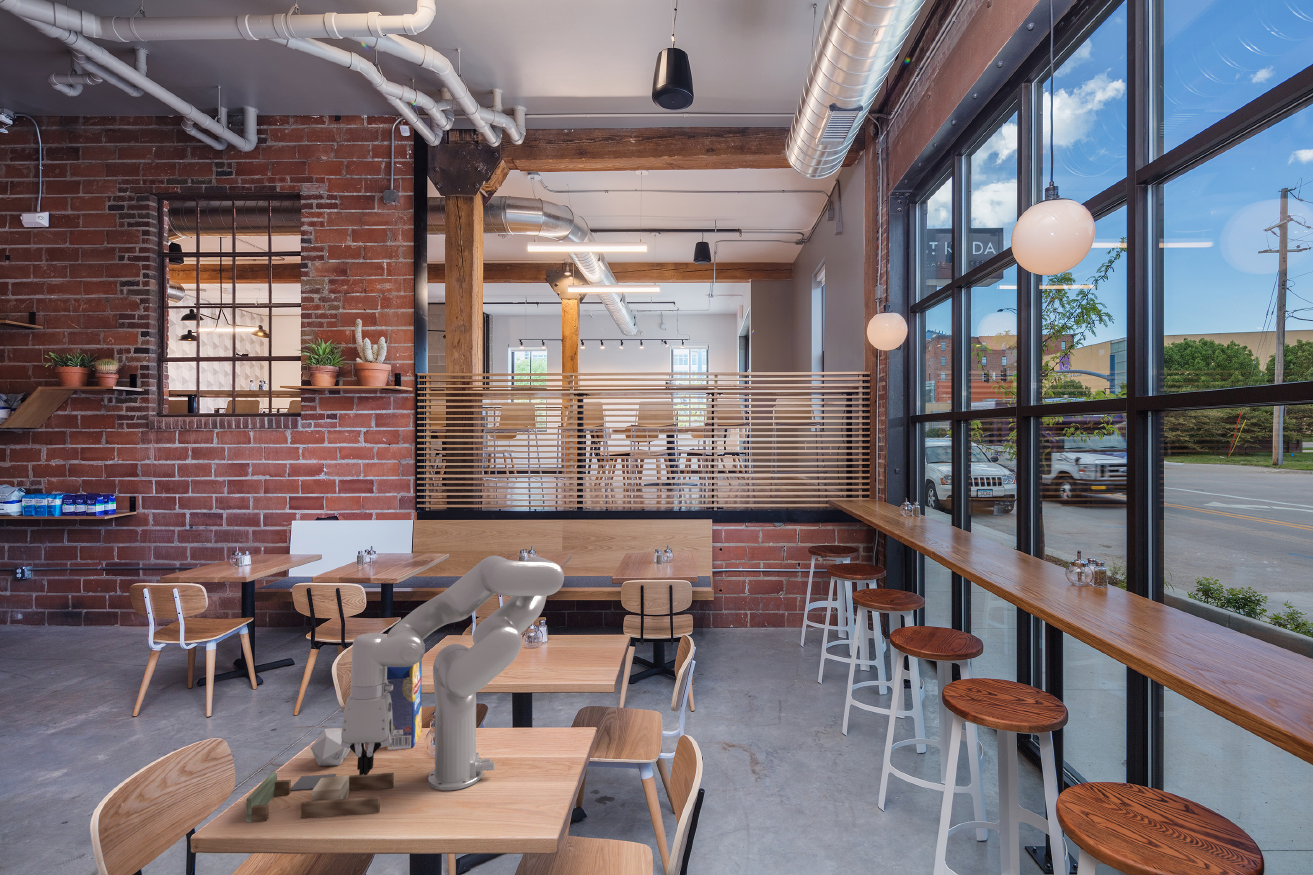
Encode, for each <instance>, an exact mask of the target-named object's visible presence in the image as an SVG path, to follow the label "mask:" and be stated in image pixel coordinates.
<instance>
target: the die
mask: <svg viewBox="0 0 1313 875" xmlns="http://www.w3.org/2000/svg"><path fill="white" fill-rule="evenodd" d="M341 732H342V728H324V729H323V731H322V732H321V733H320V734H319V736H317V738H316V740H315V741H314V742H313V744H312V745H311V746H310V750H311V752H312V754H313V757H314V758H315V762H316V763H317V765H318V766H319V767H322V766H323V767H324V766H327V767H328V766H340V765H342V762H343V761H344V760H345V758H346V757H347V756H348V755H349V753H350V751H352V750H351V749H350V748H345V747H341V742H342V739H341Z"/></svg>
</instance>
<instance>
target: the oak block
mask: <svg viewBox="0 0 1313 875" xmlns="http://www.w3.org/2000/svg"><path fill="white" fill-rule="evenodd" d="M337 776H338V777H327V778H321V779H320V780H319V782H318V783H317V785H316V786H315V787H314V789H313V790H311V801H323V800H337V799H348V797H349V795H350V791H349V776H350V775H337Z"/></svg>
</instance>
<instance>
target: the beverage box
mask: <svg viewBox="0 0 1313 875" xmlns="http://www.w3.org/2000/svg"><path fill="white" fill-rule="evenodd" d="M422 660H423V658H422V659H421V660H420V661H419V662H418V663H417V664H415V665H413V666H409V667H387V680H388V684H393V690H392V691H387V692H386V693H390V696H391V703H392V718H393V728H392V733H391V734H390V736H391V740H392V742H391V744H390V745H389V746H386V748H385V750H386V751H391V750H392V751H393V750H404V749H405V750H406V749H414V747H415V745H416V744H417V741H418V739H419V738H420V735H421V733H422V730H423V729H422V725H423V724H422V722H423V721H422V719H423V718H422V716H423V715H422V714H423V713H422V712H423V711H422V708H423V706H422V701H423V700H422V699H423V698H422V695H423V694H422V682H423V681H422V680H423V678H422V677H423V676H422V674H423V673H422V670H423V669H422V668H423V667H422V666H423V665H422V664H423V663H422V662H423V661H422Z"/></svg>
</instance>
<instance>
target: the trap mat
mask: <svg viewBox="0 0 1313 875" xmlns="http://www.w3.org/2000/svg"><path fill="white" fill-rule="evenodd" d="M335 776H337V773H331V774H329V773H328V774H317V775H313V774H312V775H302V776H300V777H299V778H298V780H297V781H296V782H295V783H294V784H293V785H292V786H291V792H297V791H299V792H300V791H312V790H313V789H314V787H315V786H316V785H317V783H318V782H319V780H320V779H321V778H322V777H335Z"/></svg>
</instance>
